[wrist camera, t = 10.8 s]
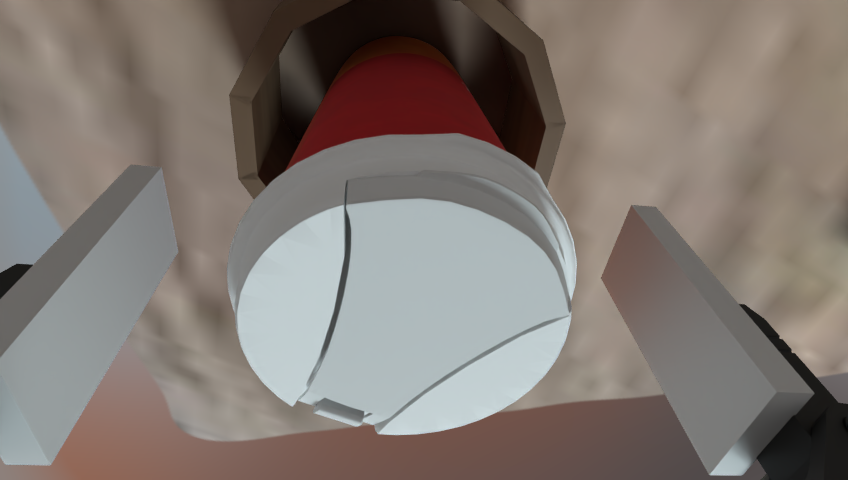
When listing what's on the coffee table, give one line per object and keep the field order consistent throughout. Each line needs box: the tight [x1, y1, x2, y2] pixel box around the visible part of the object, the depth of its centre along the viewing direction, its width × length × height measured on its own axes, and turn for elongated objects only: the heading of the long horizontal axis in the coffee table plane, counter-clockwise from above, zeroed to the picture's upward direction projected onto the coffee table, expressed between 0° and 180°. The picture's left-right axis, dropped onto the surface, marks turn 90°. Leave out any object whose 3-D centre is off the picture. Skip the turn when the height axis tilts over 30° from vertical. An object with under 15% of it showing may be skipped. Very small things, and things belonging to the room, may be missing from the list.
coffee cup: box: [227, 36, 577, 435], centre depth 17 cm, size 8×8×15 cm
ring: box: [229, 0, 566, 199], centre depth 21 cm, size 12×12×6 cm
